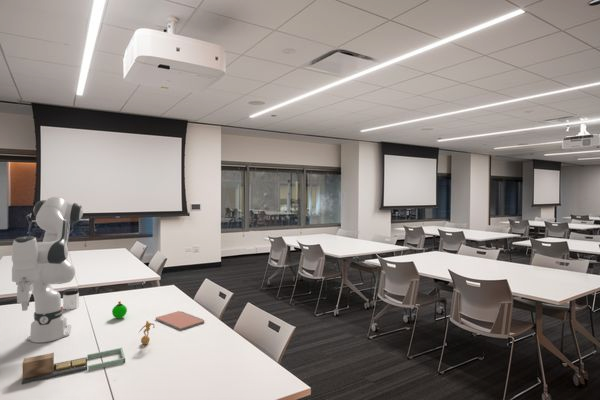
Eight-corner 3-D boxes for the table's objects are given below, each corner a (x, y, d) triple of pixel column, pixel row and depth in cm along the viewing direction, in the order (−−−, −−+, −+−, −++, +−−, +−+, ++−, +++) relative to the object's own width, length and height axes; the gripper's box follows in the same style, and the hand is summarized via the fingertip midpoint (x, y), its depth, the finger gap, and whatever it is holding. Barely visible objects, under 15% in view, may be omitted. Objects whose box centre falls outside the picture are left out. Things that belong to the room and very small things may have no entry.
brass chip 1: (56, 373, 148) (56, 368, 148) (56, 368, 153) (56, 363, 153) (70, 370, 151) (70, 365, 151) (70, 365, 155) (70, 361, 155)
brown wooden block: (22, 380, 143) (22, 363, 142) (24, 375, 147) (23, 358, 147) (53, 374, 148) (53, 357, 148) (53, 369, 152) (53, 352, 152)
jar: (64, 310, 231) (64, 292, 231) (61, 308, 237) (61, 289, 237) (80, 307, 237) (80, 289, 237) (77, 305, 243) (77, 287, 243)
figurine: (150, 340, 185) (150, 317, 185) (157, 343, 182) (157, 319, 181) (135, 345, 178) (135, 321, 178) (141, 348, 175) (141, 324, 175)
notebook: (206, 323, 211) (206, 319, 211) (180, 331, 198) (180, 328, 198) (180, 313, 228) (180, 310, 228) (155, 320, 215) (155, 317, 215)
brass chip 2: (72, 370, 151) (71, 365, 151) (72, 365, 156) (72, 360, 155) (85, 367, 154) (85, 362, 154) (85, 362, 158) (85, 358, 158)
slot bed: (21, 387, 140) (21, 381, 140) (25, 375, 149) (25, 369, 149) (87, 372, 152) (87, 367, 152) (86, 362, 161) (86, 356, 161)
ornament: (123, 320, 215) (123, 303, 214) (109, 320, 214) (109, 303, 214) (129, 315, 223) (129, 299, 222) (115, 315, 222) (115, 299, 222)
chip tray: (88, 373, 151) (88, 366, 151) (87, 361, 162) (87, 354, 162) (125, 365, 158) (125, 358, 158) (122, 353, 169) (122, 347, 169)
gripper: (32, 279, 144) (32, 314, 144) (36, 270, 161) (37, 301, 161) (12, 281, 140) (12, 317, 141) (19, 271, 158) (19, 303, 158)
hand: (25, 308), depth 151 cm, fingers open, 4 cm apart
